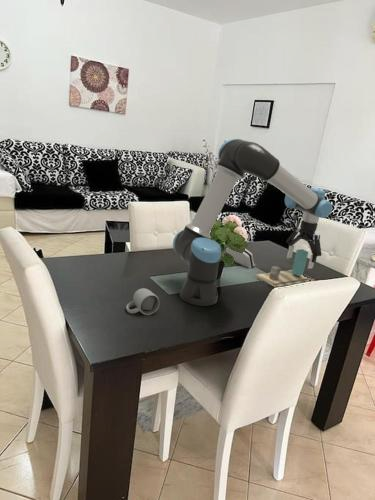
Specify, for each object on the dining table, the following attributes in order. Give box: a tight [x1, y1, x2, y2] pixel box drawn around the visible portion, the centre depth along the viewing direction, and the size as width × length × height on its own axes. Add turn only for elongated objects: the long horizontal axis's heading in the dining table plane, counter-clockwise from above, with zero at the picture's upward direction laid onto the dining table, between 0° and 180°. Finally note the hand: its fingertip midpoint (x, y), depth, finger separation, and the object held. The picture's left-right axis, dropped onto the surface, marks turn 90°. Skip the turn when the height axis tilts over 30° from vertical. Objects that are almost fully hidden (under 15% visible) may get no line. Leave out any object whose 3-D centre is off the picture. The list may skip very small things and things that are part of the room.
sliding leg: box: [291, 249, 309, 276], centre depth 190 cm, size 4×4×13 cm
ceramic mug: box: [125, 287, 161, 316], centre depth 138 cm, size 11×8×8 cm
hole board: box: [253, 265, 316, 287], centre depth 187 cm, size 28×14×7 cm, turn 123°
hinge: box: [226, 247, 256, 269], centre depth 202 cm, size 17×5×10 cm, turn 42°
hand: (299, 263), depth 190 cm, fingers open, 13 cm apart
